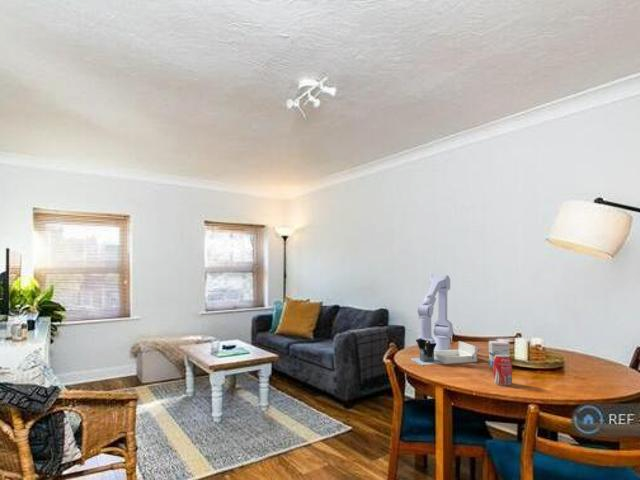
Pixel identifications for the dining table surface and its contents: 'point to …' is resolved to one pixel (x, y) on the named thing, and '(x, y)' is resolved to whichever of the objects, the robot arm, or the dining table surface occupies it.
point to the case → (457, 354)
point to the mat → (424, 362)
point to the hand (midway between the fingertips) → (426, 355)
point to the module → (425, 355)
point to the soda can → (502, 369)
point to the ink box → (497, 349)
